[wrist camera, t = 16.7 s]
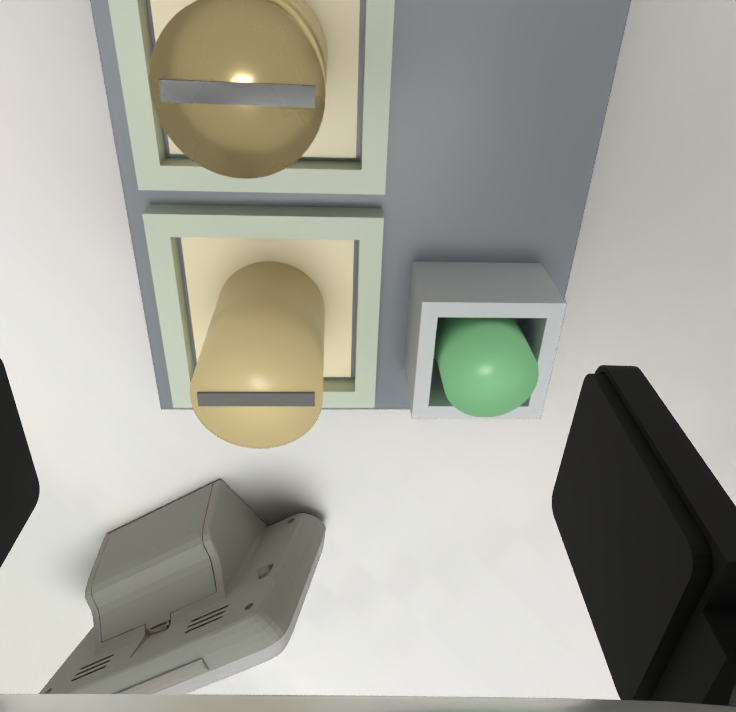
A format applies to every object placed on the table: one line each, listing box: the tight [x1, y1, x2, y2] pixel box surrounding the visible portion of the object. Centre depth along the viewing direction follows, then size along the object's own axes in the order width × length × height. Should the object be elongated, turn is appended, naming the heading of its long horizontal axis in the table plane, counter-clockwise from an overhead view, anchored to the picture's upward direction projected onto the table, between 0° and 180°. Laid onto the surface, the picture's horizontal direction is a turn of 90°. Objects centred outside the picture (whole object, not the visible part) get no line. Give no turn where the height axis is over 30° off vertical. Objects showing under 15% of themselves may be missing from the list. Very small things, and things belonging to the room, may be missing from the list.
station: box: [90, 0, 631, 449], centre depth 25 cm, size 20×23×8 cm
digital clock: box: [39, 480, 326, 694], centre depth 36 cm, size 16×9×11 cm, turn 108°
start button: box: [434, 317, 539, 417], centre depth 29 cm, size 4×4×4 cm
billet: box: [149, 0, 327, 179], centre depth 21 cm, size 5×5×7 cm
